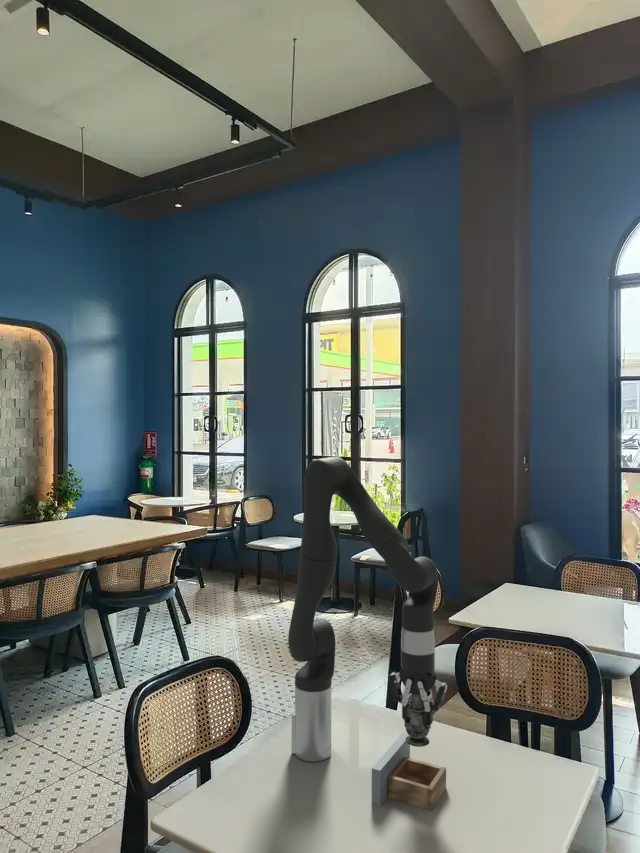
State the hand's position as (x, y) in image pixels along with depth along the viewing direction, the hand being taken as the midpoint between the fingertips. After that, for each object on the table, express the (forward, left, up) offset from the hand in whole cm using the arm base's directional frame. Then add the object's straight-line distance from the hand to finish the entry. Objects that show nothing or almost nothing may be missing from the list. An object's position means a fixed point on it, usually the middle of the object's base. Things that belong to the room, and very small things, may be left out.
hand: (417, 723), depth 145 cm
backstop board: (-6, 0, -16) cm, 17 cm away
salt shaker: (0, 0, -4) cm, 4 cm away
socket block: (0, 0, -16) cm, 16 cm away
